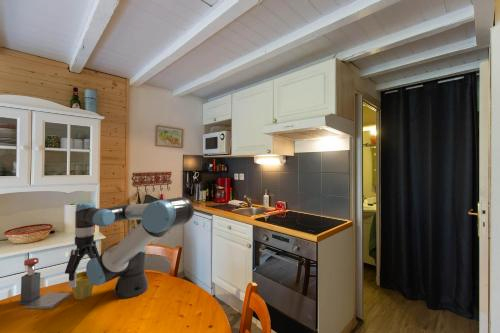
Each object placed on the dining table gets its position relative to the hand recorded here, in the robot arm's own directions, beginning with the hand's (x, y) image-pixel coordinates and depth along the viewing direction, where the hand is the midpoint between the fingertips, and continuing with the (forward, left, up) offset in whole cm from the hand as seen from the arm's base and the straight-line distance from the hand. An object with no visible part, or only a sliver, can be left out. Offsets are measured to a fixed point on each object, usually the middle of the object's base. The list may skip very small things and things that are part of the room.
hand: (82, 279), depth 113 cm
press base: (+14, +5, -8) cm, 17 cm away
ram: (+20, +5, -2) cm, 21 cm away
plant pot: (0, 0, -8) cm, 8 cm away
